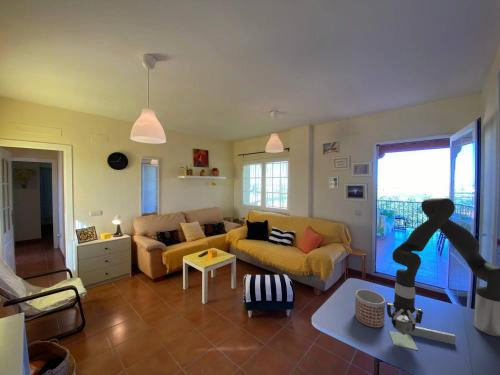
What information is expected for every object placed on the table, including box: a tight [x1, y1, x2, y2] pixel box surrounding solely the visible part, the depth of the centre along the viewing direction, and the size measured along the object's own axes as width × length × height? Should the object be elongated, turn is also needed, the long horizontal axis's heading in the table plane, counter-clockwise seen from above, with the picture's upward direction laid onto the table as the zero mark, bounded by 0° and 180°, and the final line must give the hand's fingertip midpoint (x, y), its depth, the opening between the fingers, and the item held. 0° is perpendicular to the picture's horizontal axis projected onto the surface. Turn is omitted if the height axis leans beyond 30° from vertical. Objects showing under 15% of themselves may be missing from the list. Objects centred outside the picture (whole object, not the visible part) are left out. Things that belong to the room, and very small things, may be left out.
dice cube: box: [392, 315, 413, 335], centre depth 97 cm, size 5×5×5 cm
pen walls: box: [402, 315, 457, 345], centre depth 103 cm, size 17×11×4 cm, turn 69°
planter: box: [354, 288, 386, 329], centre depth 112 cm, size 14×14×13 cm
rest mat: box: [388, 330, 419, 351], centre depth 97 cm, size 9×9×1 cm
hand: (402, 327), depth 97 cm, fingers closed on dice cube, 6 cm apart
